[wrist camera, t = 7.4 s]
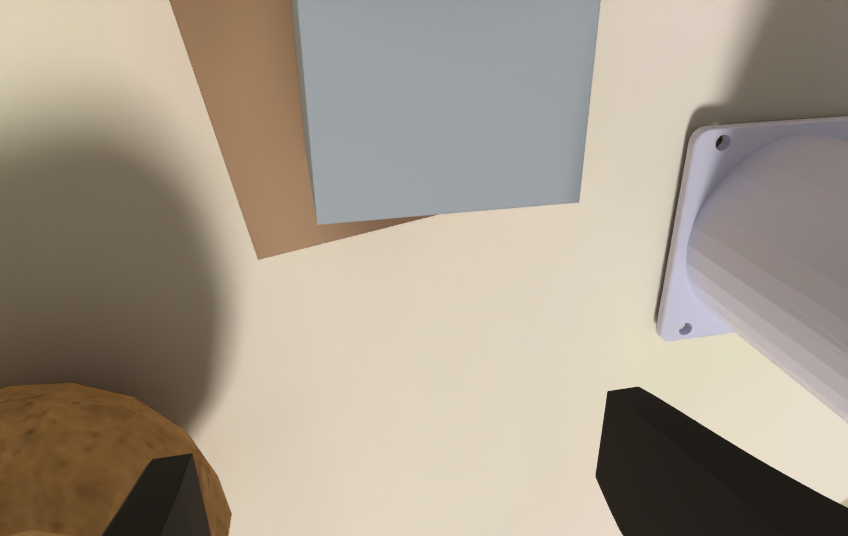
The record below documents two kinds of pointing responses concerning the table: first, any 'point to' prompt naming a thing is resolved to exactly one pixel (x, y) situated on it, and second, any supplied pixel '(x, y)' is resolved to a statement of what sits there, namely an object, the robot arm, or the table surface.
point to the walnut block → (260, 118)
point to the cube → (443, 104)
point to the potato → (84, 459)
